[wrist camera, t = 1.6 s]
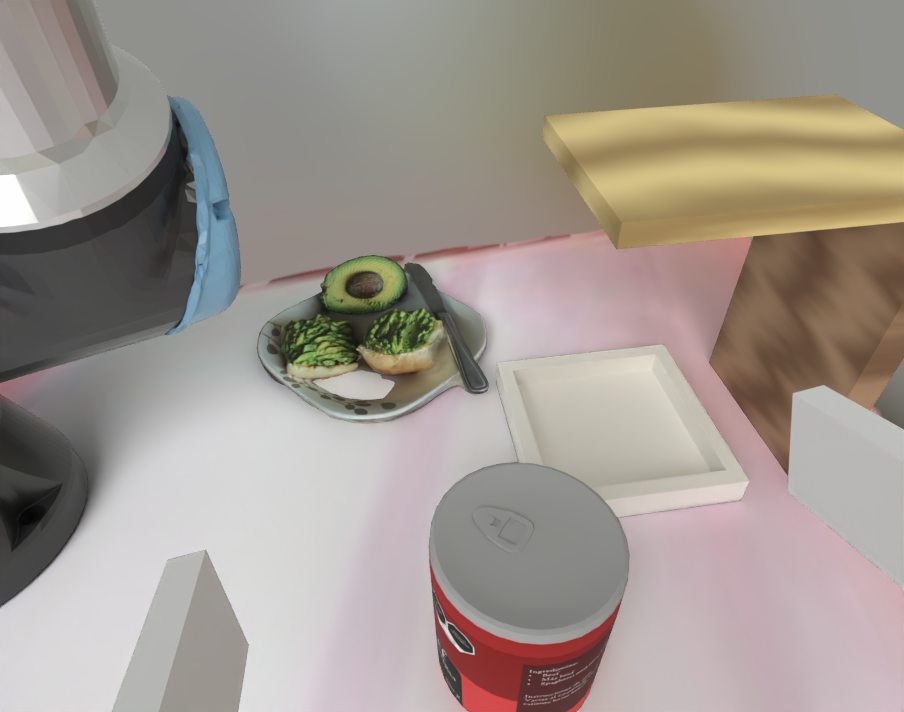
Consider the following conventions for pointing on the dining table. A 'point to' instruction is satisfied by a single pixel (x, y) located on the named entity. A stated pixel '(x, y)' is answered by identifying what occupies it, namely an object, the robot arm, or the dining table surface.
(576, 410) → the shallow square white tray
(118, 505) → the dining table surface
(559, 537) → the canned food
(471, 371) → the salad plate
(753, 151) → the wooden l-shaped stand
